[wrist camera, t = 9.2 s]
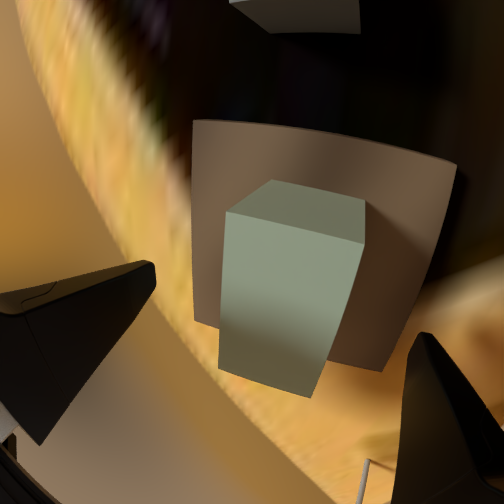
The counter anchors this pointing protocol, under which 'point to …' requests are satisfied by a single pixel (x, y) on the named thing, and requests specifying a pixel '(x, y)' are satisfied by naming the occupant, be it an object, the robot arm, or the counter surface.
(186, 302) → the counter surface
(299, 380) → the sage brick
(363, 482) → the lollipop
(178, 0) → the counter surface
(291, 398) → the counter surface
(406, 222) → the walnut board
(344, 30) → the charcoal brick
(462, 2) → the counter surface
